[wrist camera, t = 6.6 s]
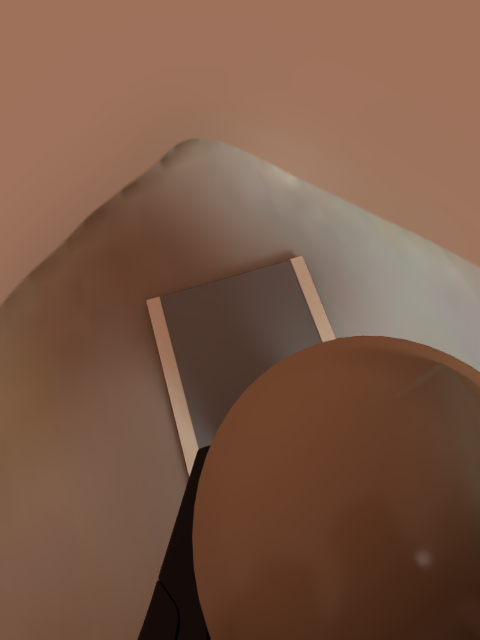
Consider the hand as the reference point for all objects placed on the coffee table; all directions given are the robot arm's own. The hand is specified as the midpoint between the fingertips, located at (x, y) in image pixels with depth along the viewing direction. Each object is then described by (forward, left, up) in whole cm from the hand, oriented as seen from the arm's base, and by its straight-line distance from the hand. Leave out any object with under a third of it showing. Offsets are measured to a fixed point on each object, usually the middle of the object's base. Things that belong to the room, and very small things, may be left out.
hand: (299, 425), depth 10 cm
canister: (-1, +1, -7) cm, 7 cm away
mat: (+1, 0, -8) cm, 9 cm away
